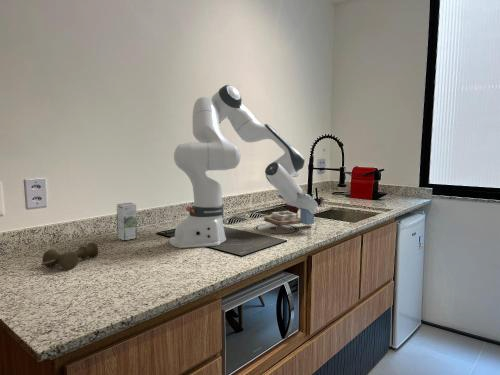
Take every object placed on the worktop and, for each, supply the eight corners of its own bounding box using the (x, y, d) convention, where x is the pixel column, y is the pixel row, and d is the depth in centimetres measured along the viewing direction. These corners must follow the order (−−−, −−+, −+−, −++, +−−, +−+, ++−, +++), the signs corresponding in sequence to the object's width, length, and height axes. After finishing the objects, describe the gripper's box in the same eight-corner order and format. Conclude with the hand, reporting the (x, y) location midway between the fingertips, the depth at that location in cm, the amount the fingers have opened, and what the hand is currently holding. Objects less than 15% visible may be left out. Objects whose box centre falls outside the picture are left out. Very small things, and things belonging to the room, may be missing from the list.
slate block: (306, 224, 173) (306, 203, 172) (300, 222, 177) (300, 201, 176) (313, 223, 176) (314, 202, 175) (307, 221, 179) (308, 201, 178)
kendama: (105, 259, 129) (53, 276, 110) (84, 256, 133) (31, 272, 114) (104, 241, 128) (52, 256, 110) (83, 239, 132) (29, 253, 114)
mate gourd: (302, 214, 207) (302, 187, 206) (291, 215, 203) (291, 188, 201) (293, 212, 213) (293, 186, 212) (282, 213, 209) (282, 186, 207)
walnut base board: (279, 225, 179) (279, 217, 179) (264, 219, 192) (264, 212, 192) (305, 222, 186) (305, 214, 185) (289, 217, 199) (289, 209, 198)
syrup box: (130, 236, 157) (129, 202, 156) (137, 239, 153) (136, 203, 152) (117, 239, 153) (116, 203, 152) (124, 241, 149) (122, 205, 148)
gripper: (310, 189, 162) (327, 209, 168) (282, 184, 180) (298, 203, 186) (302, 200, 160) (319, 220, 166) (274, 194, 178) (291, 213, 184)
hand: (308, 211), depth 176 cm, fingers closed on slate block, 4 cm apart
